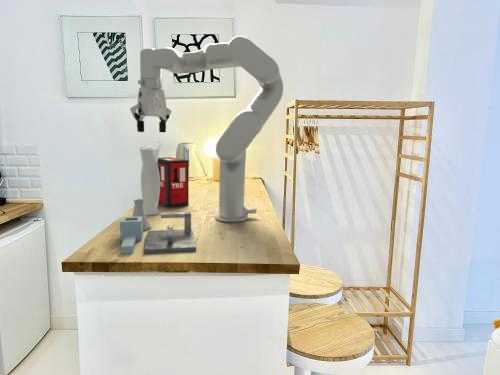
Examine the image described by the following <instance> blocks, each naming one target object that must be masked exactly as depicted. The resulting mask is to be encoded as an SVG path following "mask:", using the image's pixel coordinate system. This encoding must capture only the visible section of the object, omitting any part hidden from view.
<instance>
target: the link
mask: <svg viewBox="0 0 500 375" xmlns="http://www.w3.org/2000/svg"><path fill="white" fill-rule="evenodd" d="M119 232H120V242H122V244H121V246H120V254H122V255H123V254H124V255H126V254H133V253H134V250H135V247H136V244H137V242H138V241H143V236H144V231H143V219H142V216H140V217H132V216H122V217H121V219H120V220H119Z"/></svg>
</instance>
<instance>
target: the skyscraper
mask: <svg viewBox="0 0 500 375" xmlns="http://www.w3.org/2000/svg"><path fill="white" fill-rule="evenodd" d="M155 144H157V145H158V144H159V145H158V148H154V146H152V145H155ZM161 144H162V143H161V142H159V141H157V142H151V143H150V144H149V145H148V146H147V145H146V146H141V147H140V148H139V152H140V157H141V162H142V163H141V164H142V166H141V171H140V172H141V173H140V192H141V199H143V200H144V202H143V207H144V211H145V214H146V216H153V215H161V214H160V213H161V212H160V211H159V209H158V206H159V204H158V202H159V194H160V174H159V169H158V165H157V161H158V158H159V154H160V149H161Z"/></svg>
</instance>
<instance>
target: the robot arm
mask: <svg viewBox="0 0 500 375" xmlns="http://www.w3.org/2000/svg"><path fill="white" fill-rule="evenodd" d="M139 61H140V62H139V63H140V65H139V66H140V70H139V71H140V72H139V73H140V75H139V76H140V79H139V80H138V82H137V83H138V84H139V85H140V87H139V88H138V92H137V104H135V105H133V106H132V107H130V108H129V110H130V112H131V114H132V117H134V119H135V121H136V129H137V132H138V133H144V132H145V121H144V118H145V117H157V118H158V119H159V120H160V121H159V122H158V123H159V124H158V125H159V126H158V130H159V133H166V132H167V131H166V130H167V122H168V120H169V118H170V116H171V113H172V110H171V109H169V108H168V107H167V101H166V100H167V99H166V94H165V90H164V89H163V88H162V87H163V76H162V74H163V71H162V70H166V71H168V72H171V73H173V74H178V75H179V74H193V73H200V72H206V71H210V70H218V69H229V68H240V67H241V68H242V69H243V70H245V72H247V73H248V74H249V75H250V76H252V78H254V79H255V80H256V81H257V83H258V84H259V89H258V90H259V91H258V92H257V94H256V95H255V96H254V98H253V99H252V100H251V102H250V104H248V106H247V108H246V109H244V110H241V111H240V112H239V113H237V114H236V115H235V117H234V118H233V120H232V121H231V122H230V124H229V125H228V126H227V128H226V129H225V131H224V132H223V134H222V135H221V136H220V138H219V139H218V141H217V142H216V144H215V145H216V146H215V154H216V156H217V158H218V159H219V184H218V185H219V188H218V189H219V190H218V191H219V192H218V194H219V196H218V197H219V198H218V199H219V200H218V212H217V213H216V214H215V215H214V219H215V220H217V221H220V222H223V223H224V222H225V223H238V222H239V223H240V222H244V221H247V220H248V218H249V214H257V208H253V207H246V206H245V191H246V190H245V184H246V162H247V161H246V159H247V149H248V148H249V146H250V145H251V143H252V142H253V141H254V140H255V138H256V137H257V135H259V133H260V132H261V131H262V129H263V128H264V126H265V125H266V122H267V121H268V120H269V119H270V117H271V116H272V114H273V112H274V111H275V110H276V108H277V107H278V105H279V104H280V102H281V100H282V97H283V93H284V83H283V78H282V76H281V73H280V68H279V64H278V63H277V62H276V60H274V59H273V57H271V56H270V55H269V54H267V53H266V52H265V51H264V50H262V49H261V48H260V47H259V46H257V45H256V44H255V43H254V42H253V41H252V40H250V39H249V38H248V37H246V36H243V35H238V36H234V37H233V38H231V40H230V41H228V42H219V43H217V42H216V43H208V44H206V45H204V47H202V48H201V49H199V50H196V51H191V52H179V51H177V50H176V49H174V48H173V47H164V48H156V49H155V48H142V49H141V51H140V53H139Z"/></svg>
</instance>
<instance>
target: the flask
mask: <svg viewBox="0 0 500 375" xmlns="http://www.w3.org/2000/svg"><path fill="white" fill-rule="evenodd" d="M133 202H134V208H133V213H132V216H131V217H140V216H142V219H143V232H144V231H149V230H150V229H152V226H151V224H150V221H149V219H148V217H147V216H148V215H146V214H145V211H144V206H143V202H144V200H143V199H142V198H137V199H133Z"/></svg>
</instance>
